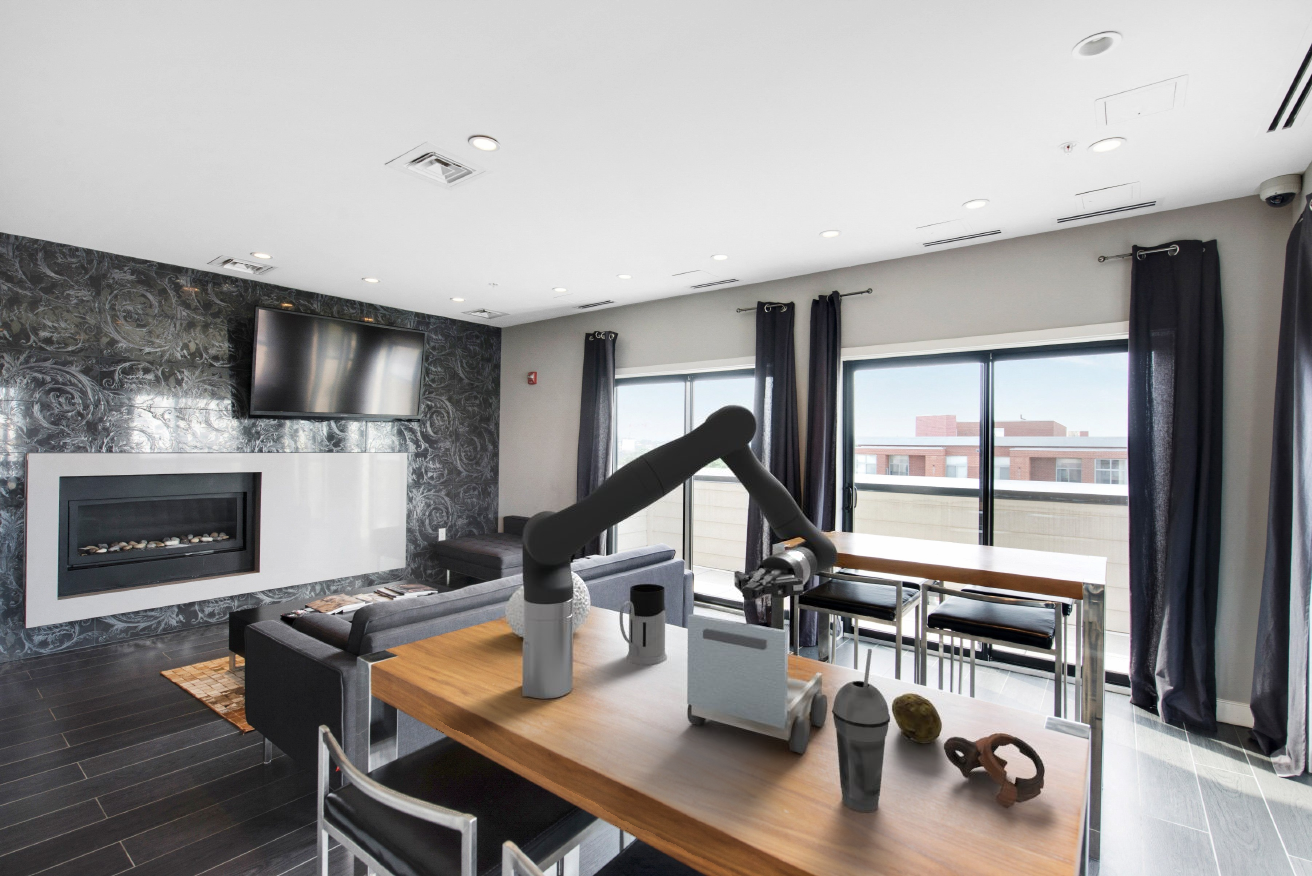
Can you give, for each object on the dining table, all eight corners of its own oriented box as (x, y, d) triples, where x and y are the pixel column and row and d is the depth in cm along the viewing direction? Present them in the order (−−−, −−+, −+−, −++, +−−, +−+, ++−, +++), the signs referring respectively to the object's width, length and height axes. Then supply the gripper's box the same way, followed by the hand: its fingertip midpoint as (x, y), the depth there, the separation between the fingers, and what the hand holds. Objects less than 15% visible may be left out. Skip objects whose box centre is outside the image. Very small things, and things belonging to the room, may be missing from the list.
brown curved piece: (1022, 775, 88) (1046, 740, 84) (1031, 839, 80) (1057, 804, 76) (934, 741, 91) (953, 706, 87) (934, 800, 84) (955, 764, 79)
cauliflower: (576, 584, 161) (563, 543, 151) (610, 630, 149) (598, 589, 139) (507, 626, 154) (488, 586, 143) (537, 678, 142) (518, 638, 131)
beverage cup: (823, 787, 84) (824, 640, 84) (874, 784, 84) (875, 639, 84) (844, 820, 76) (845, 660, 76) (900, 817, 77) (901, 658, 77)
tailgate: (690, 700, 98) (691, 613, 98) (787, 725, 90) (787, 630, 90) (685, 705, 97) (686, 616, 97) (783, 730, 88) (783, 633, 88)
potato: (956, 733, 99) (956, 684, 99) (933, 766, 89) (933, 711, 89) (903, 718, 104) (904, 671, 104) (876, 747, 95) (876, 695, 95)
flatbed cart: (729, 691, 115) (729, 654, 115) (830, 715, 105) (830, 675, 105) (683, 730, 99) (684, 687, 99) (796, 763, 90) (797, 715, 90)
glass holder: (674, 655, 134) (675, 586, 134) (638, 676, 122) (638, 601, 122) (641, 647, 138) (641, 581, 138) (603, 667, 126) (603, 594, 126)
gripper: (750, 549, 116) (710, 566, 101) (819, 555, 109) (788, 575, 94) (750, 588, 116) (710, 611, 101) (820, 597, 109) (788, 624, 94)
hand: (748, 594), depth 98 cm, fingers closed
